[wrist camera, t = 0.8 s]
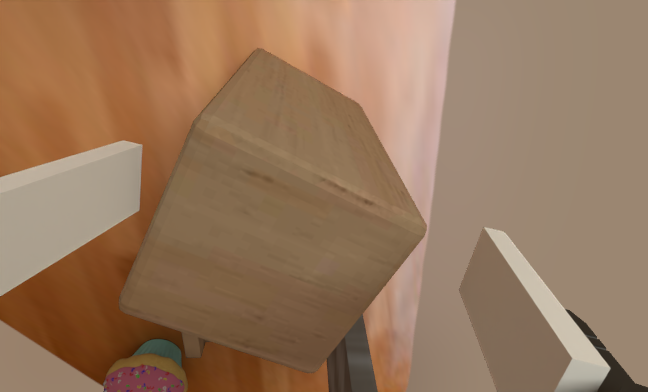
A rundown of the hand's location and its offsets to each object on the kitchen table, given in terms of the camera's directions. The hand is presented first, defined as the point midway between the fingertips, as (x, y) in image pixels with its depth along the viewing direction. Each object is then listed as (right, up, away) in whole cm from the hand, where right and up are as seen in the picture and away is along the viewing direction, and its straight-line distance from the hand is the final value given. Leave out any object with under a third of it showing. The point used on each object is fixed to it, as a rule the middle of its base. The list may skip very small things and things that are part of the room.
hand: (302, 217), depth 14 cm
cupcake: (-19, -18, +31) cm, 40 cm away
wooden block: (-3, +7, +19) cm, 21 cm away
